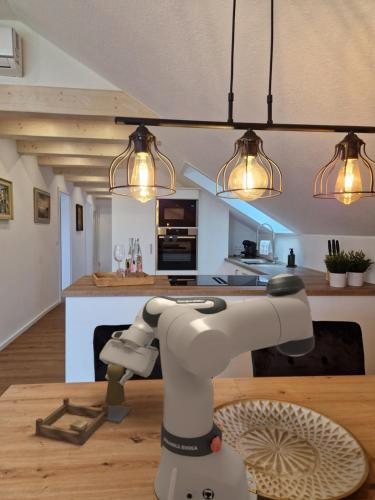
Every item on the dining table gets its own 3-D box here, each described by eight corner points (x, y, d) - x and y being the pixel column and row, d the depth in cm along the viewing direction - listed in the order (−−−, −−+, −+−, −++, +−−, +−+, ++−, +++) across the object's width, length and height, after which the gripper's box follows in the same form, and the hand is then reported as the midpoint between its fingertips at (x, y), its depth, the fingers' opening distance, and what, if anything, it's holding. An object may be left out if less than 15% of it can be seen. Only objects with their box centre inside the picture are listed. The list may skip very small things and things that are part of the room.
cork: (110, 394, 104) (110, 361, 104) (128, 397, 103) (128, 362, 103) (101, 404, 98) (102, 368, 98) (120, 406, 97) (120, 370, 97)
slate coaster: (131, 409, 103) (131, 407, 103) (119, 423, 96) (119, 421, 96) (108, 405, 105) (108, 403, 105) (95, 419, 98) (95, 417, 98)
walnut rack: (107, 418, 98) (108, 405, 98) (83, 444, 86) (83, 430, 85) (65, 410, 102) (65, 397, 102) (35, 434, 89) (35, 420, 89)
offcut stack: (89, 432, 91) (89, 420, 91) (81, 440, 87) (81, 427, 87) (74, 429, 92) (74, 417, 92) (66, 437, 88) (66, 424, 88)
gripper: (165, 353, 104) (144, 396, 96) (119, 340, 115) (97, 377, 108) (156, 343, 100) (133, 386, 92) (110, 331, 111) (86, 368, 104)
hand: (113, 381), depth 100 cm, fingers closed on cork, 4 cm apart
